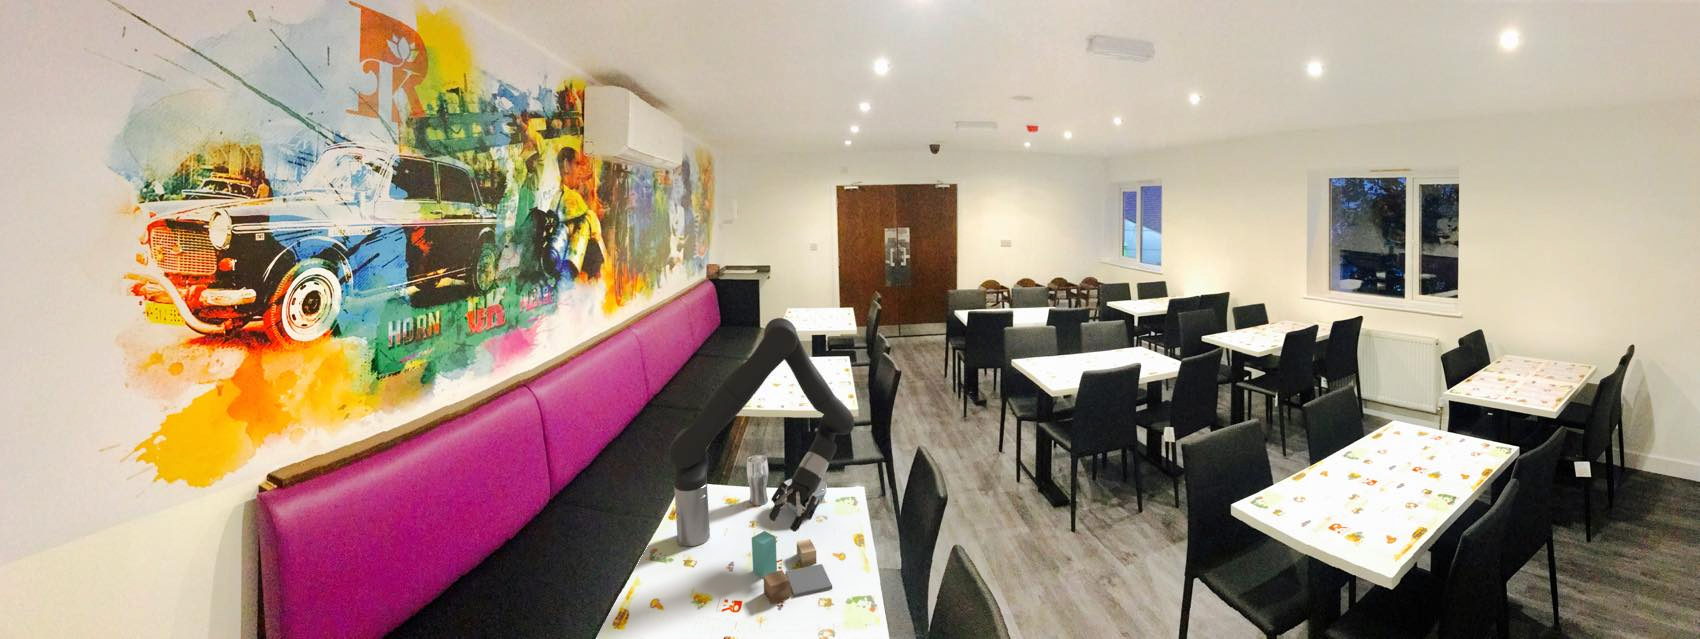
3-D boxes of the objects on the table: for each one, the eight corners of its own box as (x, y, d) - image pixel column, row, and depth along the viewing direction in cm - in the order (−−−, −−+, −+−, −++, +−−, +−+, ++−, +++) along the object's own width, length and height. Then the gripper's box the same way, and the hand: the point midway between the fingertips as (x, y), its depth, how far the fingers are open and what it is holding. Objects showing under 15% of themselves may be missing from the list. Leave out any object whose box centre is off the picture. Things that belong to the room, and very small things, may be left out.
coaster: (794, 596, 148) (794, 593, 148) (785, 573, 158) (785, 571, 158) (832, 588, 152) (832, 585, 151) (821, 566, 161) (821, 563, 161)
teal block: (764, 578, 156) (762, 543, 154) (753, 571, 159) (751, 537, 157) (776, 570, 159) (775, 536, 157) (766, 564, 162) (764, 530, 160)
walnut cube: (771, 604, 146) (770, 586, 145) (764, 593, 150) (763, 575, 149) (789, 598, 148) (789, 580, 147) (782, 587, 152) (781, 569, 151)
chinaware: (825, 521, 184) (825, 498, 183) (777, 521, 184) (777, 498, 183) (828, 497, 199) (828, 476, 197) (783, 497, 199) (783, 476, 198)
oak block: (816, 563, 162) (816, 550, 162) (802, 566, 161) (802, 553, 160) (810, 551, 168) (810, 539, 167) (796, 554, 167) (796, 541, 166)
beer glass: (765, 507, 193) (763, 464, 190) (745, 505, 194) (743, 462, 191) (772, 497, 200) (770, 455, 197) (752, 495, 201) (750, 454, 198)
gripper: (786, 459, 170) (757, 511, 164) (822, 473, 161) (792, 529, 155) (800, 470, 175) (772, 521, 169) (835, 484, 166) (807, 539, 160)
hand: (781, 524), depth 162 cm, fingers open, 8 cm apart
